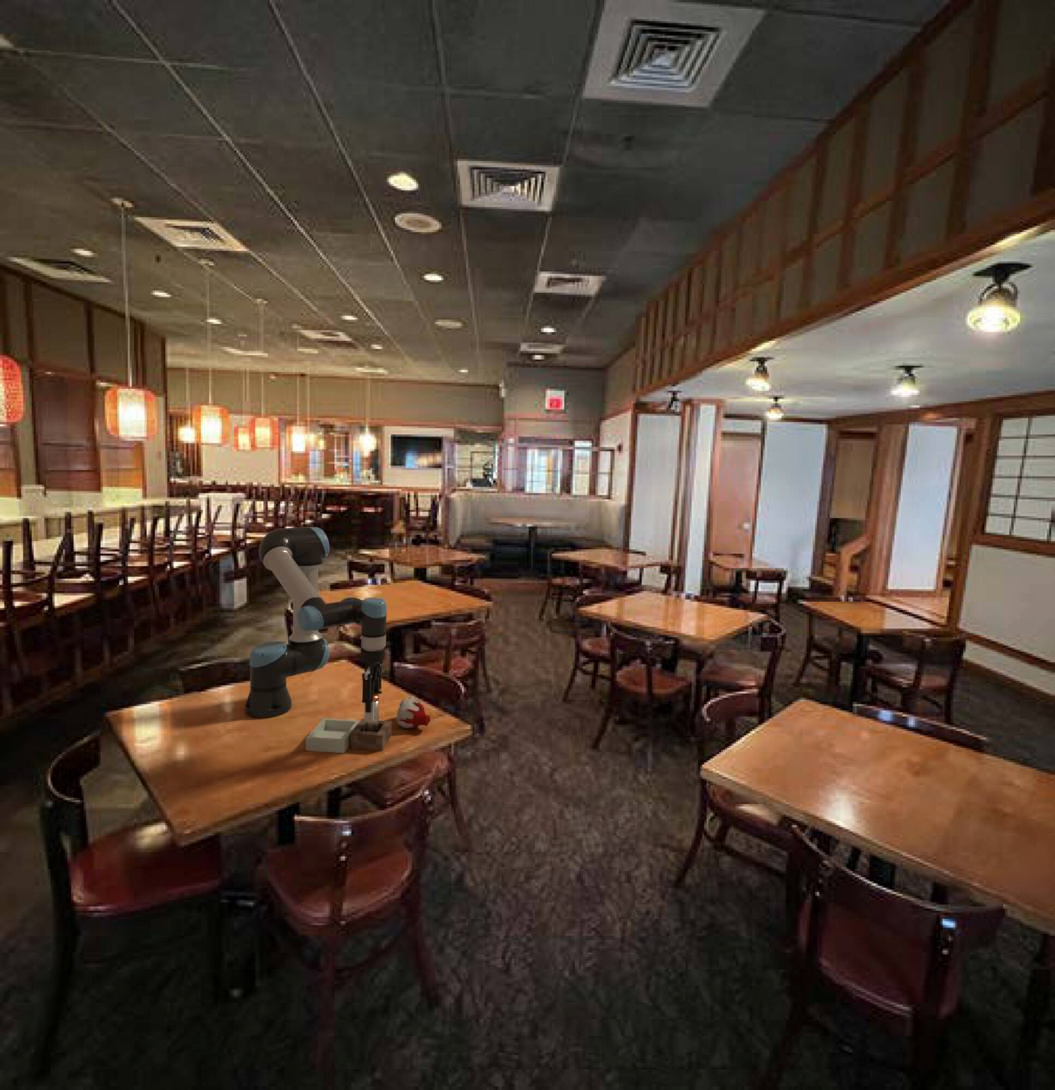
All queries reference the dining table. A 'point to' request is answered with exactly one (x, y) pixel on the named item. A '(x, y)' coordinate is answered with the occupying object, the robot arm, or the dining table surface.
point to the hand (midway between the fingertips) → (371, 717)
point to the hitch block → (371, 736)
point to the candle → (412, 713)
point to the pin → (374, 725)
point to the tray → (331, 735)
